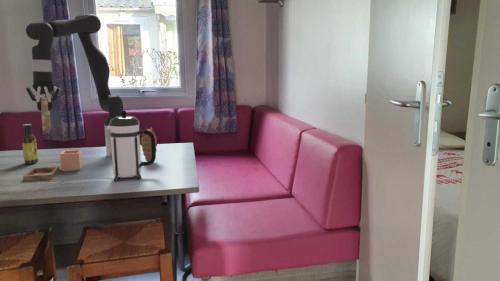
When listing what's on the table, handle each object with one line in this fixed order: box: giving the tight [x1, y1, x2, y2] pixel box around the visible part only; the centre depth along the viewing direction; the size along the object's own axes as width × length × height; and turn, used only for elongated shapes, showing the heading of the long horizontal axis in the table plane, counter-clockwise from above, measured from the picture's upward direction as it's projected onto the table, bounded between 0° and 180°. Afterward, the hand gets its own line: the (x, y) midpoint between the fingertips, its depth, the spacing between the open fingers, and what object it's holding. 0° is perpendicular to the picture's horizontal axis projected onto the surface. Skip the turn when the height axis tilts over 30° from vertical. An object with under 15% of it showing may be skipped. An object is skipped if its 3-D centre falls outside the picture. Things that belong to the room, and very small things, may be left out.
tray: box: [22, 165, 61, 184], centre depth 167 cm, size 11×14×3 cm
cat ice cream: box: [140, 126, 158, 162], centre depth 193 cm, size 9×8×18 cm
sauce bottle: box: [21, 123, 39, 165], centre depth 191 cm, size 6×6×20 cm
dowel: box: [40, 97, 52, 131], centre depth 166 cm, size 3×3×14 cm
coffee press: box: [106, 110, 157, 183], centre depth 166 cm, size 17×16×30 cm
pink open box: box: [59, 149, 84, 172], centre depth 179 cm, size 8×8×9 cm
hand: (45, 110), depth 165 cm, fingers closed on dowel, 3 cm apart
